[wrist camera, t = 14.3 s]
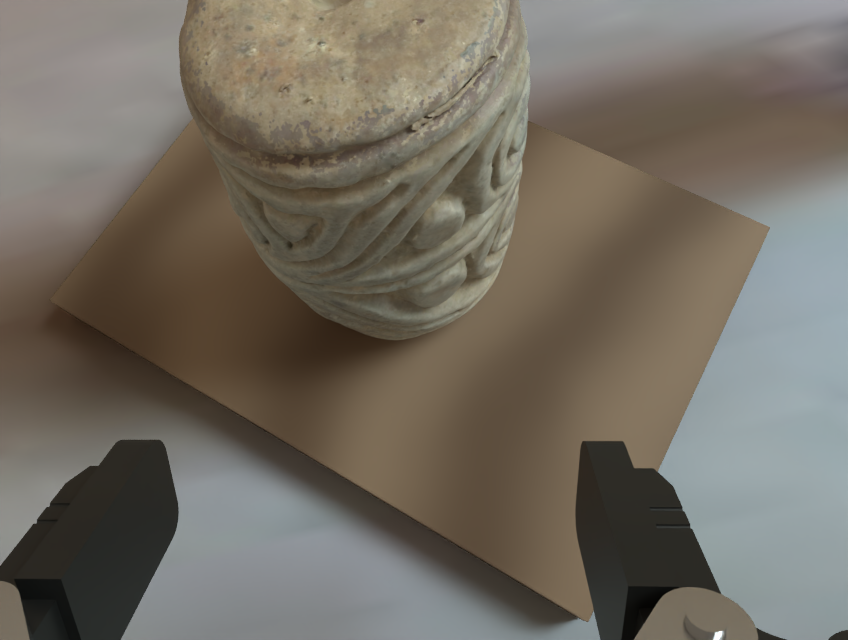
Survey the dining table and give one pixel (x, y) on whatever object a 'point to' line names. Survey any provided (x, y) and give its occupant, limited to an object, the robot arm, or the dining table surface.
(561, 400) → the walnut board
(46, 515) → the robot arm
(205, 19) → the carving
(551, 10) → the dining table surface
